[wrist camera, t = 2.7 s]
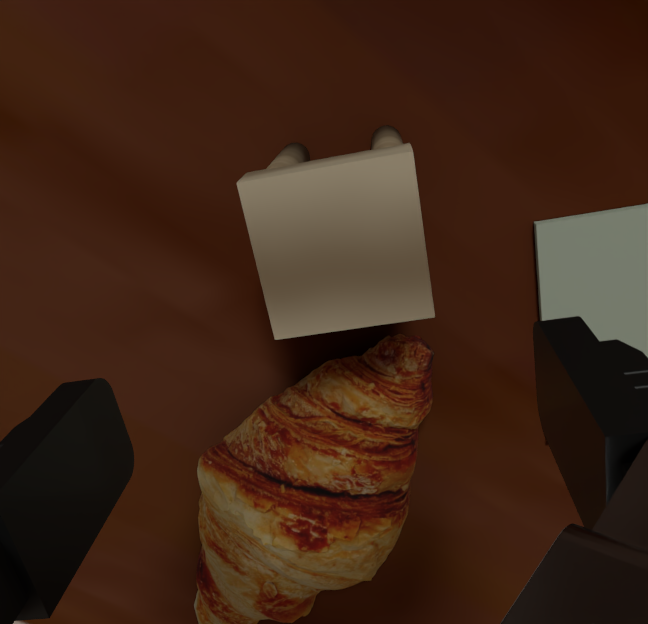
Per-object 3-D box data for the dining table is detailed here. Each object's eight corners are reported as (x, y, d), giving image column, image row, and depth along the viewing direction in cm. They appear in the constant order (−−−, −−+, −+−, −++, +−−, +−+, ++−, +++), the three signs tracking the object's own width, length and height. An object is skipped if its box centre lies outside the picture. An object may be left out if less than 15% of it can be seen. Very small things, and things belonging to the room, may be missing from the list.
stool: (275, 143, 26) (236, 183, 18) (401, 119, 25) (413, 151, 17) (300, 261, 27) (274, 340, 20) (417, 242, 27) (434, 317, 19)
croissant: (268, 569, 40) (307, 699, 34) (113, 570, 34) (128, 725, 28) (455, 314, 31) (550, 428, 25) (289, 261, 26) (362, 390, 20)
